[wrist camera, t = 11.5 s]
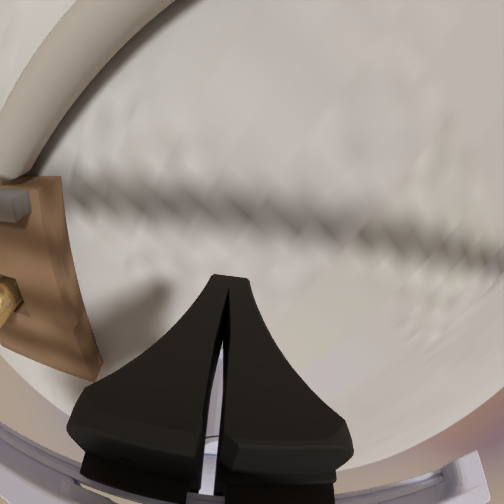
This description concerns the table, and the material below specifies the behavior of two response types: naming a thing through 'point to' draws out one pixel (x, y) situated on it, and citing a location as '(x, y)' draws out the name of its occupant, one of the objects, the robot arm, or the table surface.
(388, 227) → the table surface
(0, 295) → the brass cylinder
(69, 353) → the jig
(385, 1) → the table surface
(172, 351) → the robot arm
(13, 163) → the tube
